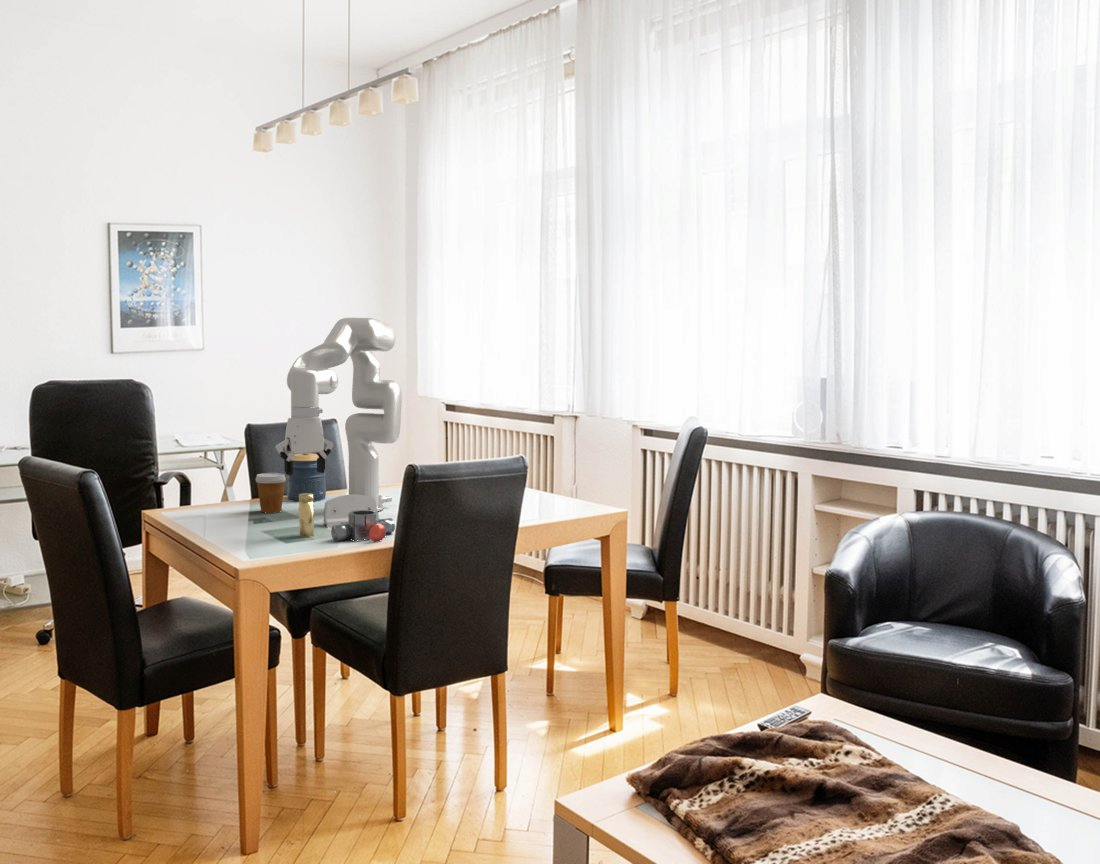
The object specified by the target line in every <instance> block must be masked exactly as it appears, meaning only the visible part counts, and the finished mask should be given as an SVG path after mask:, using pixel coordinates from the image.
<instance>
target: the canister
mask: <svg viewBox="0 0 1100 864" xmlns="http://www.w3.org/2000/svg"><path fill="white" fill-rule="evenodd" d="M317 458H319V456H318V455H317V454H316V453H307V454H295V455H294V456H293V458H292V459H291V461H292V462H293V475H286V477H287V495H286V496H287V499H288V500H289V501H291V502H299V494H302V493H312V494H313V501H314V502H318V501H322V500H325V499H326V496H327V490H326V475H327V474H326V473H325V471H324V473H320V472H317ZM326 466H327V464H326V463H325V467H326Z"/></svg>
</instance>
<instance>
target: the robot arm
mask: <svg viewBox="0 0 1100 864" xmlns="http://www.w3.org/2000/svg"><path fill="white" fill-rule="evenodd" d="M325 338H326V339H324V341H323V343H321V344H319V345H316V346H315V347H313V348H311V349H309V350H307V351H305V352H303V353H302V354H301V355H299V356H298V357H297V358H296V359H295V361H294V362H293V364H292V365H291V366H290V369H289V371H288V373H287V377H286V384H287V388H288V390H290V412H291V413H290V417H288V418H287V422H286V427H285V428H286V429H285V437H284V440H282V441H281V442H279V443H278V444H276V445H275V447H274V448H275V449H276V452H277V453H278V456H279V457H280V458H281V459H282V460H283V461H284V467H283V468H284V472H285V475H286V476H287V475H293V462H292V461H291V459H292V458H293V456H294V455H295V454H307V453H313V454H317V455H318V456H319V458H317V472H320V473H324V472H325V470H326V466H325V464H326V459H328V456H329V455H330V454H331V452H332V449H333V447H334V444H335V443H334V442H333V441H331V440H329V439H327V438H325V437H324V429H323V423H322V418H321V417H319V416H320V414H323V411H324V410H323V408H320V406H319V403H320V402H319V400H320V398H319V397H320V396H319V395H329V394H333V392H335V391H336V389H337V388H338V384H339V378H338V374H337V373H336V372H335V371H334V370H332V369H331V368H334V367H338V366H341V365H343V364H344V363H346V362H347V361H348V359H349V357H350V359H351V361H352V369H353V370H352V372H353V373H352V388H351V389H352V390H351V400H352V404H353V405H354V406H355V407H356V408H357V409H358V408H359V409H361V410H362V409H363V410H365V409H366V410H383V413H371V412H358V413H357V412H356V413H352V414H350V415H349V416H348V417H347V418H346V420H345V423H344V424H345V426H344V427H345V429H344V430H345V435H346V440H347V446H348V447H347V449H348V450H347V451H348V495H365V496H369V497H372V498H374V499H375V501H376V506H377V510H378V511H379V510H382V509H383V508H384V507H385V506H384V505H383V504H384V503H391V502H392V501H393V498H392V496H391V495H388V496H382V495H381V494H380V492H379V491H380V490H379V488H380V487H379V486H380V485H379V477H380V475H379V464H380V463H379V454H378V452H377V450H376V448H375V447H374V445H373V444H394V443H396V442H397V441H398V440H399V438H400V433H401V419H402V418H401V417H402V401H403V400H402V399H403V396H402V395H403V394H402V389H401V387H400V384H399V383H398V382H397V381H394V380H390V379H381V376H380V374H381V364H380V361H379V360H378V358H377V357H376V355H375V354H374V352H390V351H391V350H392V349H393V347H395V343H396V334H395V330H394V329H393V327H392V326H391V325H390V324H388V323H386V322H383V321H381V320H378V319H377V318H376V319H375V318H372V317H343V318H341V319H339V320H337V321H336V323H335V324H334V325H333V327H332V329H331V330H330V332H329V334H328V335H327V336H326V337H325ZM325 445H326V447H325ZM324 447H325V448H324ZM284 450H285V451H284ZM383 510H384V509H383ZM383 510H382V511H383ZM379 512H380V511H379Z"/></svg>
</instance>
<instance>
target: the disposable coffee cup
mask: <svg viewBox="0 0 1100 864" xmlns="http://www.w3.org/2000/svg"><path fill="white" fill-rule="evenodd" d="M285 475H286V473H282V472H280V473H279V472H266V473H265V472H263V473H258V474H256V477H255V479H254V480H255V482H256V485H257V492H258V499H259V507H260V512H261V513H262V512H266V513H265V514H267V513H273V514H275V513H274V512H279V513H281V512H282V509H283V508H282V507H283V500H284V492H285V491H284V490H285V483H286V480H287V478H286V476H285ZM280 511H281V512H280Z"/></svg>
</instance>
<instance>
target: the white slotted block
mask: <svg viewBox="0 0 1100 864" xmlns="http://www.w3.org/2000/svg"><path fill="white" fill-rule="evenodd" d="M358 510H372V511H376V512H378V510H377V506H376V501H375V499H374V498H372V497H369V496H365V495H349V494H345V495H339V496H335V497H333V498H330V499H327V500H326V501H325V502H324V509H323V512H324V513H323V526H326V528H327V527H333V526H335V525H341V523H345V522H349V520H348V513H350V512H351V511H358ZM379 519H381V518H380V515H379V512H378V520H379Z"/></svg>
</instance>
